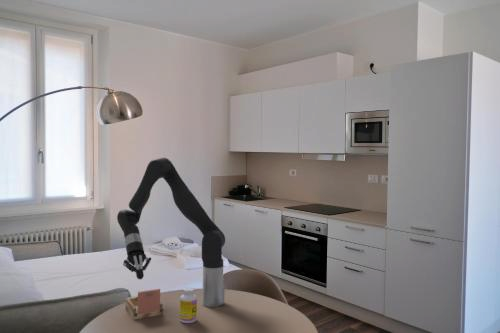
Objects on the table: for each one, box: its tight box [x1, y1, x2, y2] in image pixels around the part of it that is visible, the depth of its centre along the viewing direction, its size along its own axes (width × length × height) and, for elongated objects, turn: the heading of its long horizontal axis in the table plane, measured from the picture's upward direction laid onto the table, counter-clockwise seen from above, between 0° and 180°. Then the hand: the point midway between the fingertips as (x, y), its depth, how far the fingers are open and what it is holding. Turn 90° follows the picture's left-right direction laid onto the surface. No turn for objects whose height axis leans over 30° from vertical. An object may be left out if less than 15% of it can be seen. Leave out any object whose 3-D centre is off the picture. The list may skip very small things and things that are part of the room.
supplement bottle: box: [179, 286, 198, 324], centre depth 161 cm, size 7×7×13 cm
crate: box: [125, 296, 164, 321], centre depth 169 cm, size 12×15×4 cm
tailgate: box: [137, 288, 161, 315], centre depth 163 cm, size 9×1×9 cm, turn 121°
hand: (140, 278), depth 174 cm, fingers closed
